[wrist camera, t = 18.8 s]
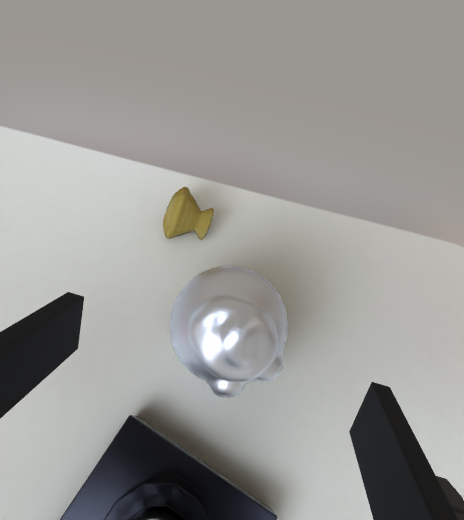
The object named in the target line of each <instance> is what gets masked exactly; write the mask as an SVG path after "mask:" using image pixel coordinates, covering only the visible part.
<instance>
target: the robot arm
mask: <svg viewBox="0 0 464 520" xmlns="http://www.w3.org/2000/svg"><path fill="white" fill-rule="evenodd" d="M83 302H84V297H83V296H80V295H76V294H73V293H70V292H68V293H66V294H64V295H62V296H61V297H59V298H57V299H56V300H54V301H52V302H51V303H49V304H47V305H45V306H44V307H42V308H40V309H39V310H37V311H35V312H34V313H32V314H30V315H29V316H27V317H25V318H23V319H22V320H20V321H18V322H17V323H15V324H13V325H12V326H10V327H8V328H7V329H5V330H3V331H1V332H0V418H1V417H3V416H4V415H5V414H6V413H7V412H8V411H9V410H10V409H11V408H12V407H14V406H15V405H16V404H17V403H18V402H19V401H20V400H21V399H22V398H24V397H25V396H26V395H27V394H28V393H29V392H30V391H31V390H32V389H34V388H35V387H36V386H37V385H38V384H39V383H40V382H41V381H42V380H44V379H45V378H46V377H47V376H48V375H49V374H50V373H51V372H52V371H54V370H55V369H56V368H57V367H58V366H59V365H60V364H61V363H62V362H63V361H65V360H66V359H67V358H68V357H69V356H70V355H71V354H72V353H73V352H75V351H76V350H77V349H78V343H79V334H80V326H81V318H82V310H83ZM349 432H350V436H351V439H352V443H353V447H354V450H355V454H356V457H357V461H358V465H359V468H360V472H361V475H362V479H363V483H364V486H365V490H366V494H367V497H368V501H369V504H370V508H371V512H372V515H373V519H374V520H464V500H463V498H462V497H461V495H460V494H459V493H458V492H457V491H456V490H455V488H454V487H453V486H452V485H451V484H450V483H449V481H448V480H447V479H445V478H441V477H438V476H435V474H434V472H433V470H432V468H431V466H430V464H429V462H428V460H427V458H426V456H425V454H424V453H423V451H422V449H421V447H420V445H419V443H418V441H417V439H416V437H415V435H414V433H413V431H412V429H411V427H410V425H409V424H408V422H407V420H406V418H405V416H404V414H403V412H402V410H401V408H400V406H399V404H398V402H397V400H396V398H395V396H394V395H393V393H392V391H391V389H390V387H388V386H384V385H381V384H377V383H374V382H372V383H371V385H370V387H369V389H368V392H367V394H366V396H365V398H364V401H363V403H362V405H361V407H360V409H359V412H358V414H357V416H356V418H355V420H354V423H353V425H352V427H351V429H350V431H349Z"/></svg>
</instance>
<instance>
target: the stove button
mask: <svg viewBox="0 0 464 520" xmlns="http://www.w3.org/2000/svg"><path fill="white" fill-rule="evenodd" d="M136 520H177V519H176V518H175V517H174V516H173V515H171V514H169V513H167V512H163V511H152V512H148V513H146V514H144V515H142V516H140V517H139V518H137V519H136Z"/></svg>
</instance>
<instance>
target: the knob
mask: <svg viewBox="0 0 464 520" xmlns="http://www.w3.org/2000/svg"><path fill="white" fill-rule="evenodd" d="M212 216H213V208H210V209H207V210H205V211H200V209H199V207H198V205H197V203H196V201H195V199H194V198H193V196H192V195H191V193H190V191H189V189H188V188H187V187H183V188H182V189H180V190H179V191H177V192H176V193H175V194H174V195H173V197H172V198H171V200H170V203H169V205H168V207H167V210H166V213H165V217H164V221H163V228H164V233H165V236H166V237H167V238H172V237H174V236H178V235H181V234H184V233H187V232H189V231H192V230H194V231H195V232H196V233H197V235H198V237H199V239H200V240H202V239H203V238H204V236H205V235H206V232H207V230H208V228H209V225H210V222H211V219H212Z"/></svg>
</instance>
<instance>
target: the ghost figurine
mask: <svg viewBox="0 0 464 520" xmlns="http://www.w3.org/2000/svg"><path fill="white" fill-rule="evenodd" d="M287 332H288V320H287V314H286V309H285V306H284V303H283V301H282V299H281V297H280V295H279V294H278V292H277V291H276V289H275V288H274V287H273V286H272V284H271V283H270V282H269V281H267V280H266V279H265V278H264V277H262V276H261V275H259V274H258V273H256V272H254V271H252V270H249V269H246V268H242V267H237V266H221V267H215V268H212V269H209V270H206V271H204V272H202V273H200V274H199V275H197V276H195V277H194V278H193V279H192V280H190V281H189V282H188V283H187V284H186V285H185V286H184V288H183V289H182V290H181V292H180V293H179V295H178V296H177V298H176V300H175V303H174V305H173V308H172V312H171V317H170V335H171V340H172V344H173V347H174V350H175V352H176V354H177V356H178V358H179V359H180V361H181V362H182V363H183V365H184V366H185V367H186V368H187V369H188V370H189V371H190V372H191V373H192V374H194V375H195V376H197V377H198V378H200V379H202V380H204V381H205V382H206V383H207V384H208V385H209V387H210V389H211V391H212V392H213V393H214V394H215V395H217V396H219V397H222V398H231V397H234V396H237V395H238V394H240V393H241V392H242V390H243V389H244V387H245V385H246V384H247V383H249V382H252V381H259V382H269V381H271V380H273V379H274V378H276V377H277V376H278V375H279V373H280V372H281V371H282V369H283V366H284V359H283V348H284V346H285V342H286V338H287Z"/></svg>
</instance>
